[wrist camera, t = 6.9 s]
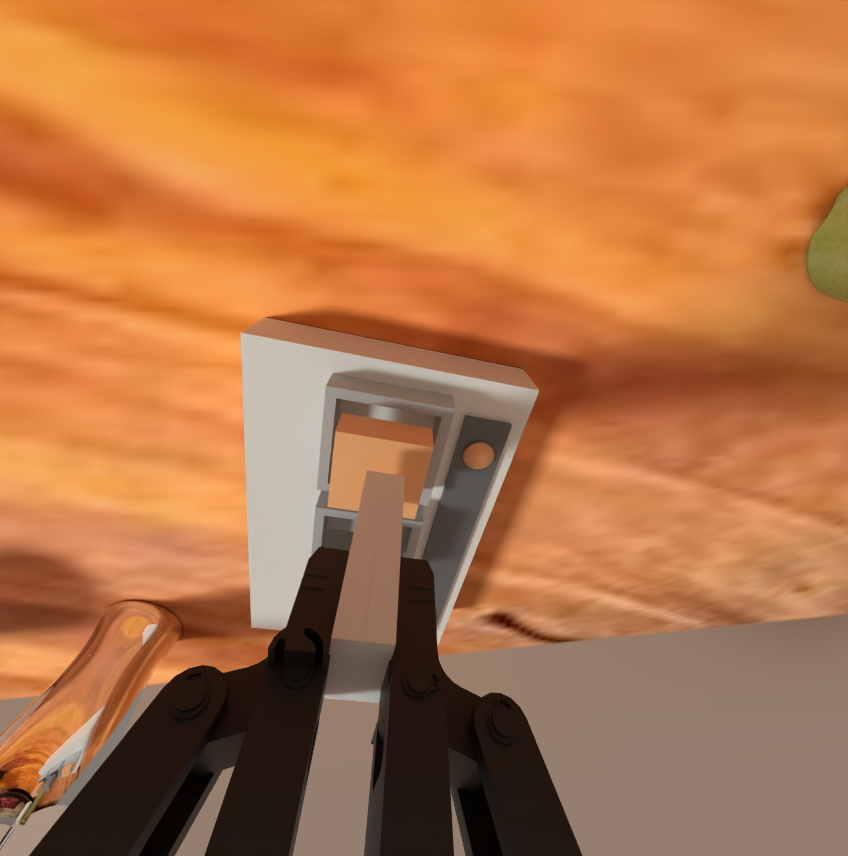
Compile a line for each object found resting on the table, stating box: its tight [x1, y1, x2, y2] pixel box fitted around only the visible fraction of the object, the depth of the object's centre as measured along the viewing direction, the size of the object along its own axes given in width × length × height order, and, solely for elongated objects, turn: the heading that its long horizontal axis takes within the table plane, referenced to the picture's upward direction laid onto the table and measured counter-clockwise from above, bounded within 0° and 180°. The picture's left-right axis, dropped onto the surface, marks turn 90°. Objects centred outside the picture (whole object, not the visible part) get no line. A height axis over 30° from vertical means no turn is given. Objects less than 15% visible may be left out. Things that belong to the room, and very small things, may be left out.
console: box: [241, 317, 539, 646], centre depth 23 cm, size 22×14×4 cm, turn 168°
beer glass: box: [0, 601, 182, 856], centre depth 24 cm, size 7×7×15 cm
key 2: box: [327, 413, 434, 519], centre depth 16 cm, size 4×4×2 cm
